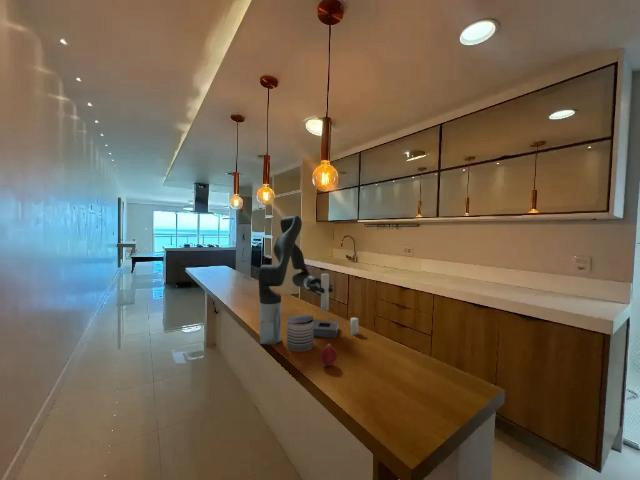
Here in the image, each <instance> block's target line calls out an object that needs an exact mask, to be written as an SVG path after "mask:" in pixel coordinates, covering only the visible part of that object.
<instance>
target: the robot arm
mask: <svg viewBox="0 0 640 480" xmlns="http://www.w3.org/2000/svg"><path fill="white" fill-rule="evenodd" d="M302 225H303V221H302V218H301V217H300V216H299V215H292V216H291V215H290V216H285V217H282V218H281V219H280V229H281V232H282V234H281V235H279V236H278V237H277V239H276V241H275V243H274V246H273V254H274V256H275V258H276V259H277V262H278V264H262V265H261V266H260V267H259V270H258V275H257V276H258V296H259V344H261V345H273V346H275V345H276V344H278V343H280V342H281V341H282V295H281V294H280V293H279V292H276V291H274V290H272V289H271V287H282V285H283V284H284V282H285V279H286V274H287V270H288V265H289V262H290V260H291V263H292V264H291V265H292V268H293V269H294V270H301V272H298V273H294V275H293V276H292V278H291V279H292V281H291V282H292V283H293V284H294V285H295V286H296V287H298V288H306V291H308V292H312V293H314V294H315V293H320V294H321V293H324V288H321V278H319V277H317V276H314V275H311V274H310V272H309V270H308V268H307V266H306V264H305V257H304V254H303V251H302V250H301V248H300V247H299V246H298V245H297V244H296V241H297V238H298V236H299V235H300V233H301V230H302ZM333 292H334V288H333V284H332V283H331V282H329V294H331V293H333Z"/></svg>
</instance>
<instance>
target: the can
mask: <svg viewBox="0 0 640 480" xmlns="http://www.w3.org/2000/svg"><path fill="white" fill-rule="evenodd" d="M313 335H314V315H309V314H300V315H298V314H297V315H294V316H290V317H288V318H287V319H286V348H287V349H288V350H291V351H292V352H306V351H310V350H312V348H313V347H314V336H313Z"/></svg>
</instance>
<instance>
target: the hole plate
mask: <svg viewBox="0 0 640 480" xmlns="http://www.w3.org/2000/svg"><path fill="white" fill-rule="evenodd" d="M313 320H314V319H313ZM338 332H339V321H336V320H322V319H321V320H319V319H315V320H314V335H313V337H315V338H316V337H317V338H318V337H319V338H331V339H333V338H334V339H336V338H337V335H338Z"/></svg>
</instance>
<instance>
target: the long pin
mask: <svg viewBox="0 0 640 480" xmlns="http://www.w3.org/2000/svg"><path fill="white" fill-rule="evenodd" d="M320 277H321V278H320V279H321V288H324V293H321V292H320V310H321V312H322V311H323V312H328V311H329V310H330V309H329V304H330V303H329V302H330V301H329V300H330V299H329V296H330V295H329V294H330V292H329V283H330V274H329V273H321V276H320Z"/></svg>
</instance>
